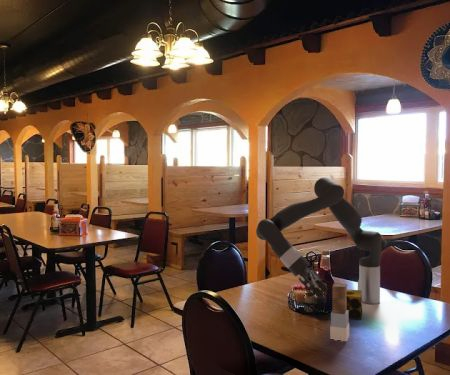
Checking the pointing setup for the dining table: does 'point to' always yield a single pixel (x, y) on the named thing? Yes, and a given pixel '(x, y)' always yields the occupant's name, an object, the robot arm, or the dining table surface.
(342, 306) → the pillar
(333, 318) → the block
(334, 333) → the tower base
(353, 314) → the yellow patterned cube
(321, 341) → the dining table surface
